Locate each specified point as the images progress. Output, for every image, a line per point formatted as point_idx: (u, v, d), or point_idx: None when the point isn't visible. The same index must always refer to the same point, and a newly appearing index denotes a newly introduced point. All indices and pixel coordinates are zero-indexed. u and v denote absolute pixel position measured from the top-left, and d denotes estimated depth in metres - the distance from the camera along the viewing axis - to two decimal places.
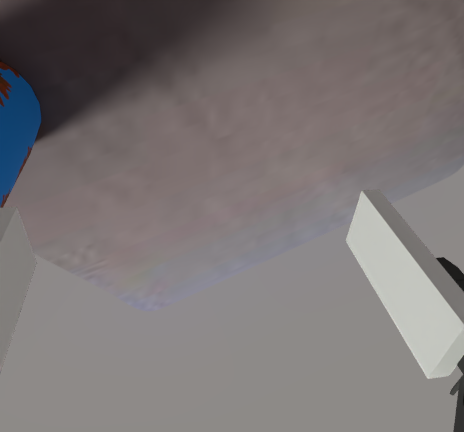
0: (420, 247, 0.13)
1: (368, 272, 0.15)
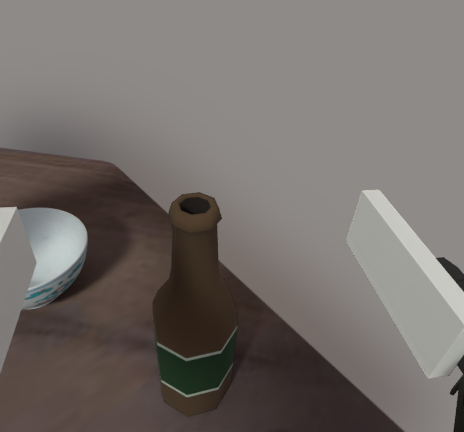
0: (419, 247, 0.13)
1: (367, 272, 0.15)
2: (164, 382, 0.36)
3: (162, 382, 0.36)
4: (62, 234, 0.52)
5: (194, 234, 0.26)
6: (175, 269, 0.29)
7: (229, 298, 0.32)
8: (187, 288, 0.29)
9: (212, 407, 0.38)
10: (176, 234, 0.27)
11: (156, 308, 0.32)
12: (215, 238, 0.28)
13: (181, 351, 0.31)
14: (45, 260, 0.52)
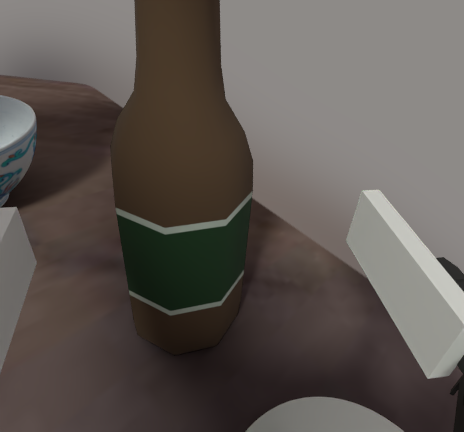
0: (420, 247, 0.13)
1: (367, 272, 0.15)
2: (134, 294, 0.22)
3: (131, 295, 0.23)
4: (7, 131, 0.38)
5: None
6: (140, 38, 0.15)
7: (240, 127, 0.18)
8: (162, 78, 0.16)
9: (211, 340, 0.25)
10: None
11: (113, 148, 0.19)
12: None
13: (155, 214, 0.18)
14: None
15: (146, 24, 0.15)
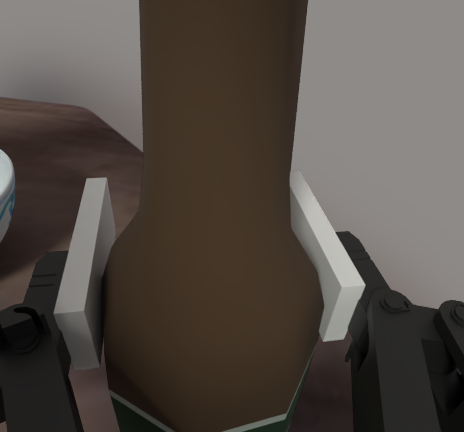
0: (322, 220, 0.14)
1: None
2: None
3: None
4: None
5: None
6: (151, 153, 0.08)
7: (311, 266, 0.11)
8: (191, 221, 0.09)
9: None
10: None
11: (106, 296, 0.12)
12: (301, 16, 0.07)
13: (174, 421, 0.11)
14: None
15: (164, 133, 0.08)
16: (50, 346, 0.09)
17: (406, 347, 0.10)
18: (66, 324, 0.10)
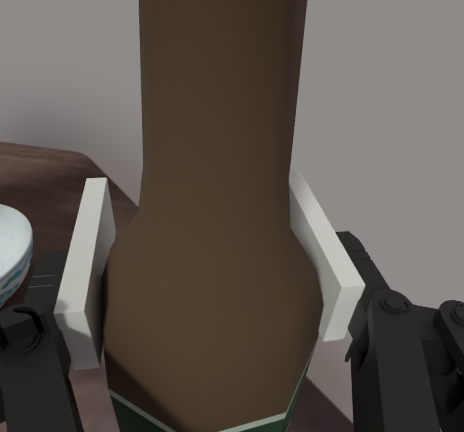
0: (322, 220, 0.14)
1: None
2: None
3: None
4: (8, 234, 0.43)
5: None
6: (151, 152, 0.08)
7: (310, 266, 0.11)
8: (191, 220, 0.09)
9: None
10: None
11: (105, 296, 0.12)
12: (300, 16, 0.07)
13: (174, 420, 0.11)
14: None
15: (164, 132, 0.08)
16: (50, 346, 0.09)
17: (406, 347, 0.10)
18: (66, 324, 0.10)
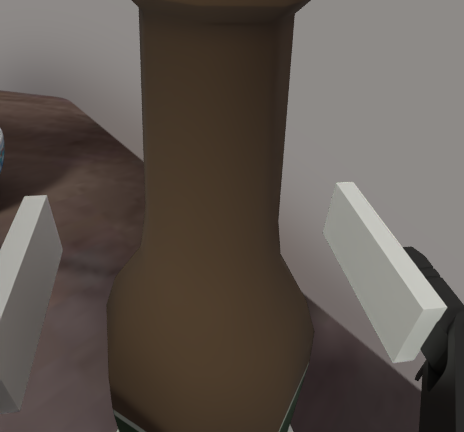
0: (387, 236, 0.13)
1: (341, 262, 0.16)
2: None
3: None
4: None
5: (215, 33, 0.07)
6: (151, 203, 0.09)
7: (300, 296, 0.12)
8: (188, 263, 0.09)
9: None
10: (147, 53, 0.07)
11: (110, 323, 0.13)
12: (284, 88, 0.08)
13: None
14: None
15: (163, 188, 0.09)
16: None
17: None
18: None
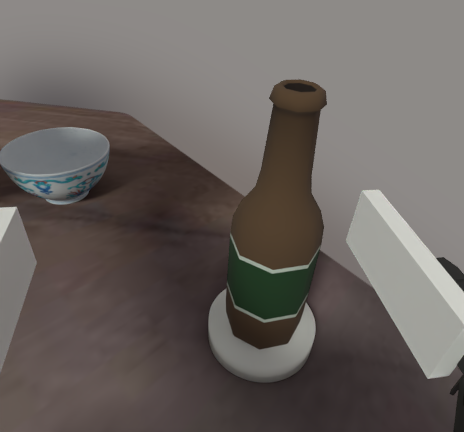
0: (420, 247, 0.13)
1: (367, 272, 0.15)
2: (238, 307, 0.34)
3: (236, 308, 0.34)
4: (87, 150, 0.62)
5: (300, 117, 0.24)
6: (270, 166, 0.27)
7: (318, 208, 0.30)
8: (281, 187, 0.27)
9: (285, 340, 0.36)
10: (278, 120, 0.25)
11: (240, 219, 0.30)
12: (316, 129, 0.26)
13: (268, 262, 0.29)
14: None
15: (276, 160, 0.27)
16: None
17: None
18: None
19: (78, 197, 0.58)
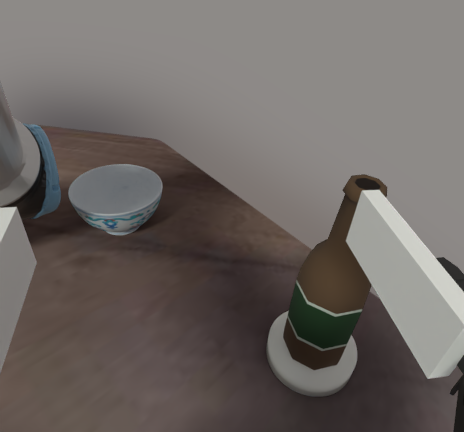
0: (420, 247, 0.13)
1: (368, 272, 0.15)
2: (300, 338, 0.42)
3: (298, 338, 0.43)
4: (138, 184, 0.70)
5: None
6: (339, 238, 0.35)
7: None
8: (347, 254, 0.35)
9: (335, 363, 0.44)
10: (350, 208, 0.33)
11: (308, 273, 0.38)
12: None
13: (332, 308, 0.37)
14: (126, 203, 0.70)
15: (344, 235, 0.35)
16: None
17: None
18: None
19: (134, 228, 0.66)
